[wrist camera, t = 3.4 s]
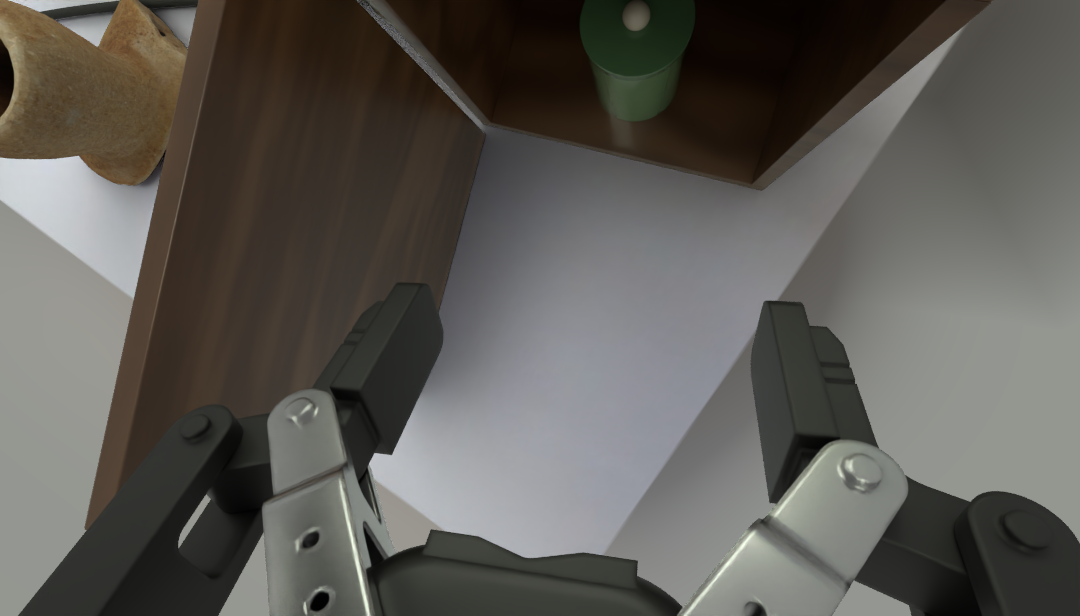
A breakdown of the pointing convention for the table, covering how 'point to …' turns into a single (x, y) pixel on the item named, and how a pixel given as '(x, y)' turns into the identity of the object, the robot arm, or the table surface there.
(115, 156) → the stone cup
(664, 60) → the pot
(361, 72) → the cupboard door
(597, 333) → the table surface
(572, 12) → the cupboard
